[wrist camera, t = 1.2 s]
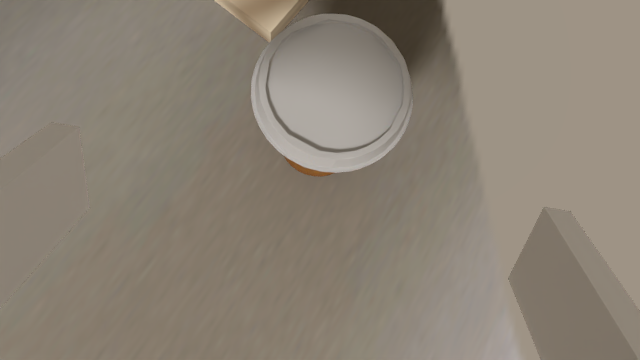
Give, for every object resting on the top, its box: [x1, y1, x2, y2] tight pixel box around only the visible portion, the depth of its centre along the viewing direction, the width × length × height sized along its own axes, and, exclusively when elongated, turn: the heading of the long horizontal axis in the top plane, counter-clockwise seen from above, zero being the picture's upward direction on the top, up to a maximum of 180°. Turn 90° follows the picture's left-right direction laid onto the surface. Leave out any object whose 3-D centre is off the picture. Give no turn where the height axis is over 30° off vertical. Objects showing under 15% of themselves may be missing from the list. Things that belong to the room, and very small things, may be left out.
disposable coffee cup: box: [251, 14, 413, 176], centre depth 31 cm, size 10×10×12 cm
